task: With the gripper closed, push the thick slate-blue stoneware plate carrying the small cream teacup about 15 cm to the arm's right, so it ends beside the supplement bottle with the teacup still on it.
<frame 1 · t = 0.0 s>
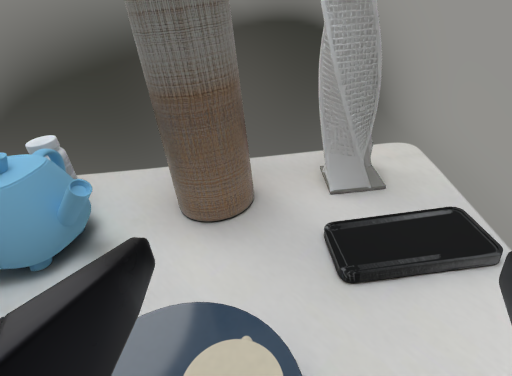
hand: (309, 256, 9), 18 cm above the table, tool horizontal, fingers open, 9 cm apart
skyscraper: (348, 182, 47), on the table
phone: (405, 247, 35), on the table
planter: (217, 201, 46), on the table
pill bottle: (65, 192, 53), on the table
teapot: (44, 246, 42), on the table
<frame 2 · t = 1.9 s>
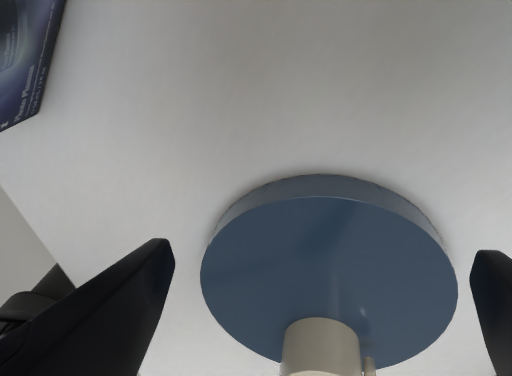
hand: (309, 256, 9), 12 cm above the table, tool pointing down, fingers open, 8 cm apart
small box: (11, 15, 20), on the table
plate: (320, 273, 26), on the table, touching teacup
teacup: (320, 341, 26), point 2 cm above the table, touching plate
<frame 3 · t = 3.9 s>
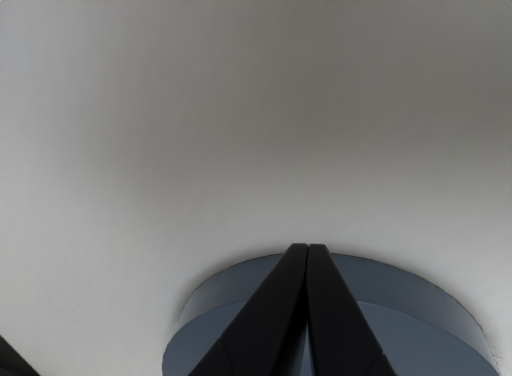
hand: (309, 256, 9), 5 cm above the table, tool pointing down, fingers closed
plate: (320, 364, 20), on the table, touching teacup
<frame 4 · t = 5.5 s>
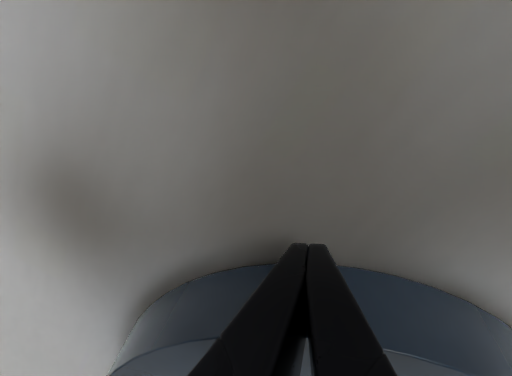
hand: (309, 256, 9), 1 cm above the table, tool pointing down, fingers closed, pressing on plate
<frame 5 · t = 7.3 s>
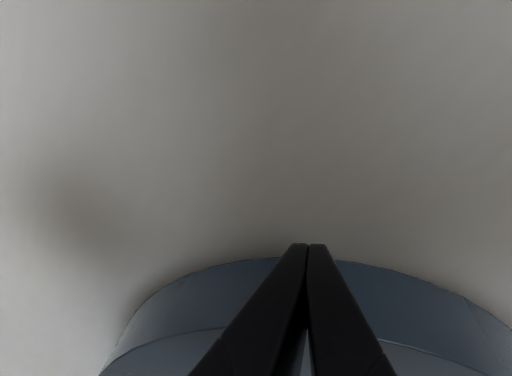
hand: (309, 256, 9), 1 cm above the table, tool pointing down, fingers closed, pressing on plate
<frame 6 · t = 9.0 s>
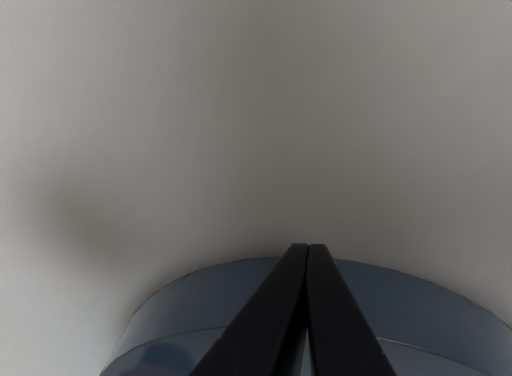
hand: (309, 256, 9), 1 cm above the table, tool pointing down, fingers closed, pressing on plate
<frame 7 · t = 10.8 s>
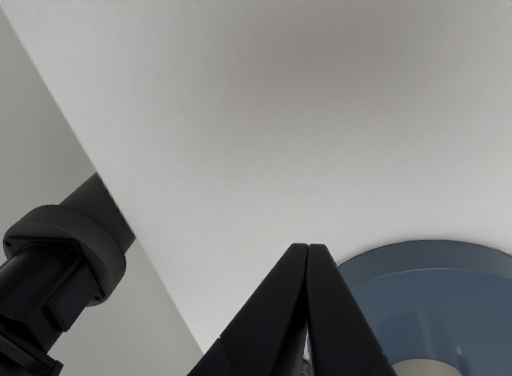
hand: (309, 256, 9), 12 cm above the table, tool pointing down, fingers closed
supplement bottle: (285, 367, 33), on the table
plate: (422, 326, 26), on the table, touching teacup
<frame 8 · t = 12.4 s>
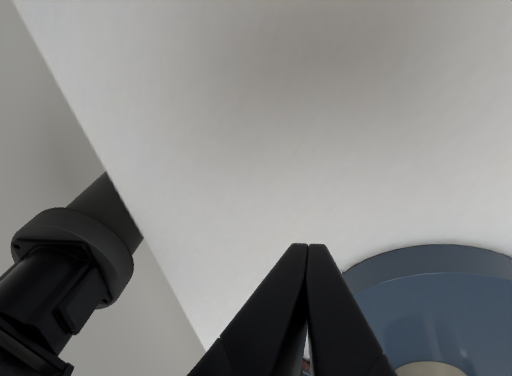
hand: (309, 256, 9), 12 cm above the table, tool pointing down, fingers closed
supplement bottle: (290, 370, 33), on the table
plate: (428, 329, 27), on the table, touching teacup
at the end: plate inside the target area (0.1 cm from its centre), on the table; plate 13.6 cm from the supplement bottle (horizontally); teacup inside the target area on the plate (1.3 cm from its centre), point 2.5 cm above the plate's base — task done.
